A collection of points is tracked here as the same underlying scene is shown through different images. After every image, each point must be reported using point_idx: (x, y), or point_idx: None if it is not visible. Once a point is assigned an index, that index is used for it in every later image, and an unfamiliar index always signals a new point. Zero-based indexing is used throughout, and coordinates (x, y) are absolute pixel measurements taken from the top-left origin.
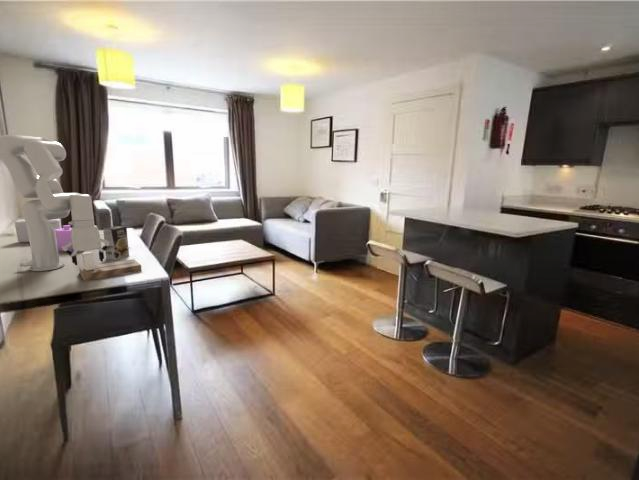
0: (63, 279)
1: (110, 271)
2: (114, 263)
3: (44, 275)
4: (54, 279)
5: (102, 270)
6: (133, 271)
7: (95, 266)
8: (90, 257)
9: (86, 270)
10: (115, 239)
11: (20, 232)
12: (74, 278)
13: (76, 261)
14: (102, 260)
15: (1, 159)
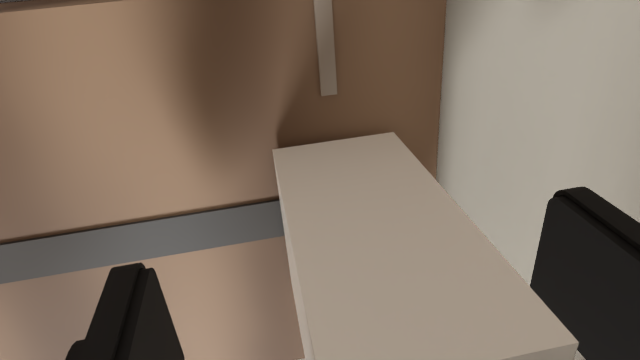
0: (555, 158)
1: (14, 7)
2: (10, 358)
3: None
4: (607, 195)
5: (150, 45)
6: None
7: (259, 307)
8: (373, 292)
9: (386, 135)
10: None
11: None
12: (470, 143)
13: (614, 226)
14: (114, 273)
15: None
